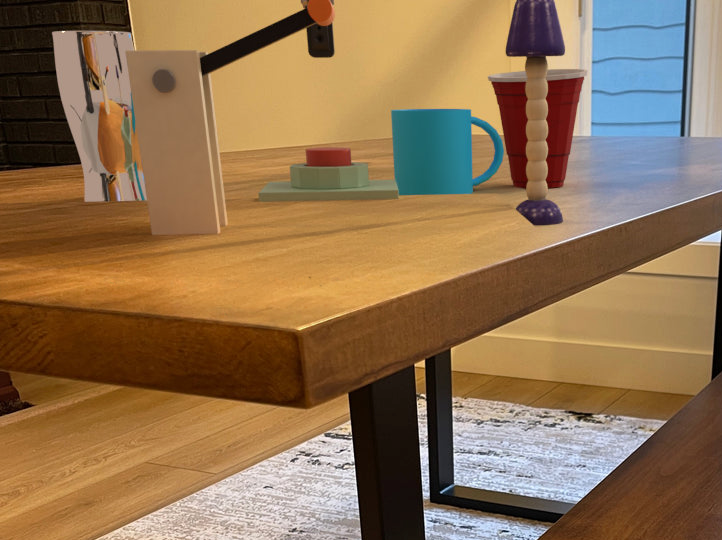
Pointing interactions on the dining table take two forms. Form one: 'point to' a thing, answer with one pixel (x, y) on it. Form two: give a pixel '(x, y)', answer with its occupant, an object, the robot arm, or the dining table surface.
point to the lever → (269, 35)
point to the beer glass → (101, 112)
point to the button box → (329, 185)
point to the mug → (438, 151)
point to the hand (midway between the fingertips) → (322, 57)
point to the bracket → (177, 141)
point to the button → (328, 157)
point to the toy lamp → (536, 97)
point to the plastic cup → (559, 119)
